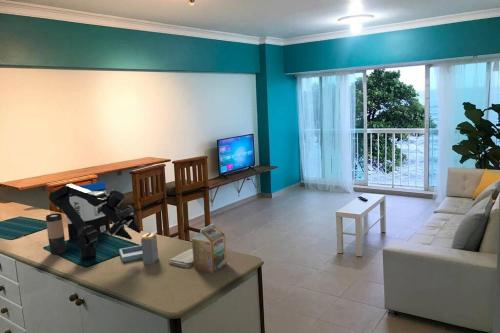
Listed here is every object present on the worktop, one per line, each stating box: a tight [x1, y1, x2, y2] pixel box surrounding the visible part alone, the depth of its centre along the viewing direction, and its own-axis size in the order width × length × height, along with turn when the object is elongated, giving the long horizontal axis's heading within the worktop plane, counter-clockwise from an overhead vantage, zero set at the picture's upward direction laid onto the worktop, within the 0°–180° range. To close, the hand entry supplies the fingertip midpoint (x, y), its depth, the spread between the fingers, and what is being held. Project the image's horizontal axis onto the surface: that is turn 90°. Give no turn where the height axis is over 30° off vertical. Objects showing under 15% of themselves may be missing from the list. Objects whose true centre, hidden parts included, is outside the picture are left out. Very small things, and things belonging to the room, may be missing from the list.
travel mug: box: [45, 212, 67, 255], centre depth 214 cm, size 8×8×20 cm
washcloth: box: [168, 248, 194, 268], centre depth 197 cm, size 12×18×3 cm, turn 151°
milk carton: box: [191, 223, 228, 274], centre depth 186 cm, size 11×11×19 cm
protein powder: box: [65, 180, 111, 241], centre depth 241 cm, size 10×24×30 cm, turn 132°
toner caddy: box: [140, 232, 159, 264], centre depth 197 cm, size 5×6×14 cm
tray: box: [118, 244, 143, 263], centre depth 206 cm, size 13×13×3 cm
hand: (135, 235), depth 197 cm, fingers open, 9 cm apart
